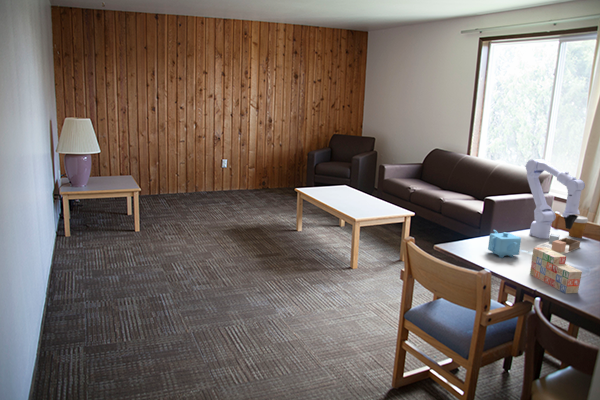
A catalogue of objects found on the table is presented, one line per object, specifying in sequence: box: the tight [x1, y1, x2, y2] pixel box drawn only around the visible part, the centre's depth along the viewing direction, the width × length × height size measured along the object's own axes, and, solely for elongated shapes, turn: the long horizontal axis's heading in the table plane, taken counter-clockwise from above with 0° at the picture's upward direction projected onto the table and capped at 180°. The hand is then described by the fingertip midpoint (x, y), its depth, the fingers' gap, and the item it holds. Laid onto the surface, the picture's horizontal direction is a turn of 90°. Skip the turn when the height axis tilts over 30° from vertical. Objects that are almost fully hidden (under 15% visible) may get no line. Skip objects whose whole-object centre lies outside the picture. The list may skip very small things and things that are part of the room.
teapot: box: [487, 229, 522, 259], centre depth 232 cm, size 16×18×11 cm
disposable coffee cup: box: [568, 214, 589, 239], centre depth 263 cm, size 10×10×12 cm
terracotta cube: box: [550, 240, 566, 253], centre depth 237 cm, size 4×4×4 cm
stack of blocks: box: [529, 246, 583, 294], centre depth 198 cm, size 21×6×12 cm, turn 12°
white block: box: [548, 233, 560, 243], centre depth 250 cm, size 4×4×4 cm
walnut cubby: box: [558, 237, 581, 252], centre depth 243 cm, size 7×11×3 cm
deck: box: [534, 241, 581, 255], centre depth 243 cm, size 14×20×1 cm
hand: (568, 228), depth 246 cm, fingers closed
